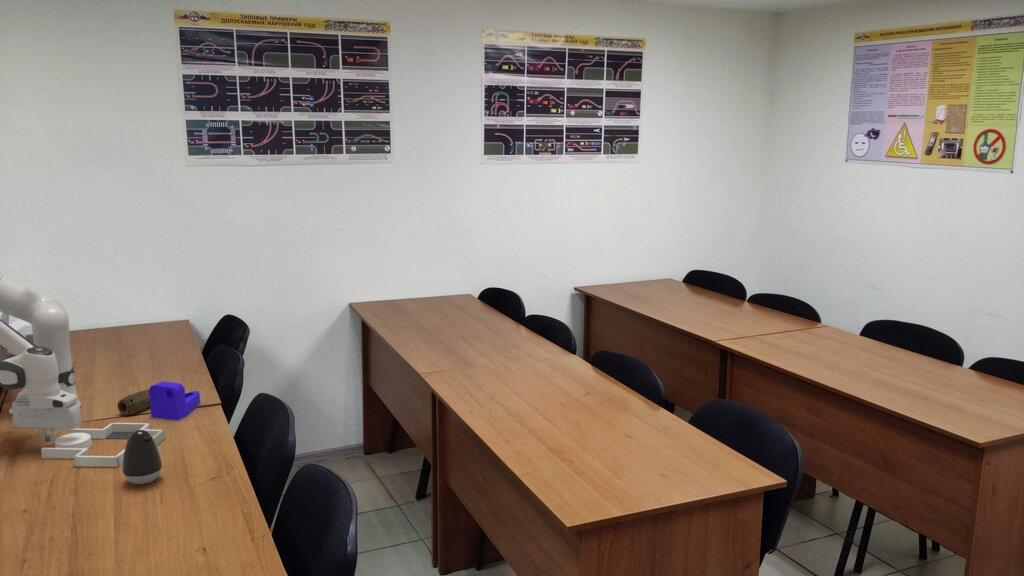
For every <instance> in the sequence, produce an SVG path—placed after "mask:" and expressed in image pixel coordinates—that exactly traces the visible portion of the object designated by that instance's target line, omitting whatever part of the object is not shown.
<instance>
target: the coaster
mask: <svg viewBox="0 0 1024 576" xmlns="http://www.w3.org/2000/svg"><path fill="white" fill-rule="evenodd" d="M54 444H55V445H54V448H89V449H90V448H91V447H92V445H93V443H92V439H91V436H90V435H89V434H87V433H71V432H70V433H66V434H64V435H60V436H59V437H57V438H55V441H54Z"/></svg>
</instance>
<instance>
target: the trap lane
mask: <svg viewBox="0 0 1024 576" xmlns="http://www.w3.org/2000/svg"><path fill="white" fill-rule="evenodd" d="M137 430H145V431H147V432H148V433H149V434H150V435H151V436H152V438H153V439H154V441H155V443H156V445H157V446H158V445H159V444H161V442H162V441H164V440H165V439H166V436H165V435H166V434H165V429H152V423H150V422H149V423H147V422H110V423H108V424H107V425H106V426H104V428H79V427H77V428H76V429H70V434H71V433H87V434H89V435H90V436H91V440H92V439H95V440H98V439H99V440H100V439H101V440H128V439H129V437H130V435H131V434H132V433H133V432H134V431H137ZM89 449H90V448H56V447H41V448H40V452H41V459H55V460H56V459H59V460H60V459H62V460H63V459H64V460H65V459H66V460H70V459H71V460H73V465H74V467H77V468H78V467H81V468H82V467H85V468H87V467H88V468H90V467H92V468H93V467H94V468H96V467H97V468H119V467H120V466H121V465H123V456H124V451H125V448H124V449H123V450H122V451H120V452H118V453H117V454H116V455H90V450H89Z"/></svg>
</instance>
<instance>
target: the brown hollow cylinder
mask: <svg viewBox="0 0 1024 576" xmlns="http://www.w3.org/2000/svg"><path fill="white" fill-rule="evenodd" d="M147 409H150V396H149V388H148V389H145V390H141V391H138V392H135V393H131V394H129V395H127V396H124V397H123V398H121V399H120V400H119V401H118V402H117V410H118V411H119V413H120V414H122V415H123V416H130V415H134V414H136V413H139V412H141V411H145V410H147Z"/></svg>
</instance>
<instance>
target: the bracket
mask: <svg viewBox="0 0 1024 576" xmlns="http://www.w3.org/2000/svg"><path fill="white" fill-rule="evenodd" d="M148 389H149V396H150V407H149V409H150V418H156V419H163V420H164V419H165V420H170V421H171V420H173V421H179V420H181V419H184V418H185V417H187V416H188V415H190V414H191V413H192V412H193V411H194V410H195V409H196V408H197V407H198V406H199V405H201V395H200V393H201V392H200V391H199V390H193V391H192V390H191V391H189V392H186V390H185V387H184V384H182V383H178V382H170V381H160V382H158V383H155V384H153V385H150V386H149V388H148Z"/></svg>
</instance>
